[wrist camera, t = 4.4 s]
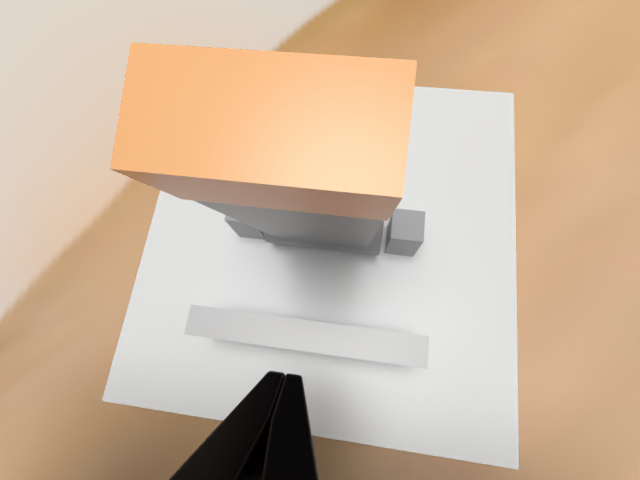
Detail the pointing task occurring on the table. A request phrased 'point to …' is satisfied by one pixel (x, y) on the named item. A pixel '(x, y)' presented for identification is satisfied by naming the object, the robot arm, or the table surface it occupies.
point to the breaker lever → (271, 138)
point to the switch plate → (351, 304)
